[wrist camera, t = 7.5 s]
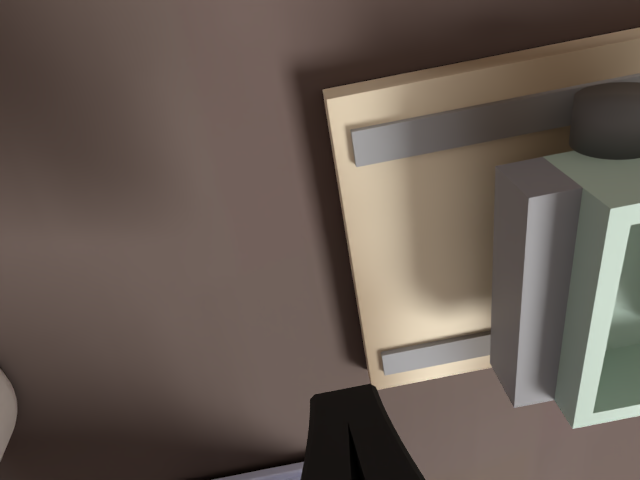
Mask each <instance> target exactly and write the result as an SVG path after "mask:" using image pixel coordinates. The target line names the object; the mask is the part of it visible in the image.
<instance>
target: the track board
mask: <svg viewBox="0 0 640 480" xmlns="http://www.w3.org/2000/svg"><path fill="white" fill-rule="evenodd" d="M613 82H638V83H640V27H639V28H634V29H629V30H624V31H619V32H614V33H609V34H603V35H598V36H593V37H588V38H583V39H578V40H573V41H568V42H563V43H557V44H552V45H547V46H542V47H537V48H532V49H527V50H522V51H517V52H512V53H506V54H501V55H496V56H491V57H486V58H481V59H476V60H471V61H466V62H460V63H455V64H450V65H445V66H440V67H435V68H430V69H425V70H420V71H414V72H409V73H404V74H399V75H394V76H389V77H384V78H379V79H374V80H368V81H363V82H358V83H353V84H348V85H343V86H338V87H333V88H328V89H323V90H322V91H323V97H324V103H325V110H326V116H327V122H328V128H329V134H330V141H331V147H332V153H333V159H334V165H335V171H336V178H337V184H338V190H339V196H340V202H341V209H342V215H343V221H344V227H345V233H346V240H347V246H348V252H349V258H350V264H351V271H352V277H353V283H354V289H355V295H356V301H357V308H358V314H359V320H360V326H361V332H362V339H363V345H364V351H365V357H366V363H367V370H368V374H369V378H370V382H371V384H372V385H374V386H376V388H377V390H379V389H384V388H390V387H395V386H400V385H405V384H410V383H415V382H420V381H425V380H430V379H436V378H441V377H446V376H451V375H456V374H461V373H466V372H471V371H476V370H482V369H487V368H492V366H491V364H490V341H491V305H492V269H493V233H494V198H495V166H498V165H503V164H508V163H513V162H518V161H523V160H528V159H534V158H539V157H544V156H549V155H554V154H559V153H564V152H569V151H574V150H573V149H572V148H571V147H570V146H569V136H570V127H571V118H572V109H573V100H574V95H575V93H576V92H578V91H579V90H581V89H583V88H586V87H589V86H593V85H598V84H604V83H613Z"/></svg>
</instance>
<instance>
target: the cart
mask: <svg viewBox="0 0 640 480" xmlns="http://www.w3.org/2000/svg"><path fill="white" fill-rule="evenodd" d="M569 146H570V147H571V148H572V149H573V150H574V151H569V152H564V153H559V154H554V155H549V156H544V157H539V158H534V159H528V160H523V161H518V162H513V163H508V164H503V165H498V166H495V198H494V233H493V269H492V305H491V341H490V364H491V366H492V368H493V370H494V372H495V373H496V375H497V377H498V379H499V381H500V383H501V384H502V386H503V388H504V390H505V392H506V394H507V396H508V397H509V399H510V401H511V403H512V405H513V407H514V408H516V407H521V406H526V405H531V404H536V403H541V402H546V401H552V400H555V402H556V403H557V405H558V407H559V408H560V410H561V411H562V413H563V414H564V416H565V418H566V419H567V421H568V422H569V424H570V425H571V427H572V429H574V428H579V427H584V426H589V425H595V424H600V423H605V422H610V421H615V420H620V419H625V418H630V417H635V416H640V83H638V82H613V83H604V84H598V85H593V86H589V87H586V88H583V89H581V90H579V91H578V92H576V93H575V95H574V100H573V109H572V118H571V127H570V136H569Z"/></svg>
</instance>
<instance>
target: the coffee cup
mask: <svg viewBox="0 0 640 480" xmlns="http://www.w3.org/2000/svg"><path fill="white" fill-rule="evenodd" d="M17 411H18V409H17V399H16V395H15V392H14V389H13V387H12V384H11V383H10V381H9V380H8V378H7V377H6V375H5V374H4V372H3V371H2V370H1V369H0V461H1V459H2V456H3V454H4V452H5V449H6V447H7V444H8V442H9V440H10V437H11V435H12V432H13V430H14V427H15V423H16V418H17Z"/></svg>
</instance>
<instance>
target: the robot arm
mask: <svg viewBox="0 0 640 480" xmlns="http://www.w3.org/2000/svg"><path fill="white" fill-rule="evenodd" d="M213 480H425V478H424V477H423V475H422V473H421V472H420V470H419V469H418V467H417V465H416V464H415V462H414V461H413V459H412V458H411V456H410V454H409V453H408V451H407V449H406V448H405V446H404V444H403V443H402V441H401V439H400V437H399V435H398V434H397V432H396V430H395V428H394V426H393V424H392V422H391V420H390V418H389V417H388V415H387V412H386V410H385V408H384V406H383V404H382V401H381V399H380V397H379V394H378V391H377V388H376V386H374V385H372V384H367V385H362V386H357V387H352V388H346V389H341V390H336V391H331V392H326V393H321V394H316V395H314V396H313V397H312V398H311V399H310V420H309V431H308V439H307V446H306V452H305V459H304V462H300V463H294V464H289V465H284V466H279V467H274V468H269V469H264V470H259V471H254V472H248V473H243V474H238V475H233V476H228V477H223V478H218V479H213Z"/></svg>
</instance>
